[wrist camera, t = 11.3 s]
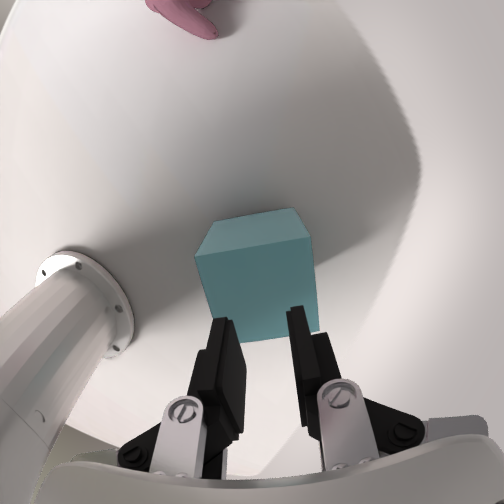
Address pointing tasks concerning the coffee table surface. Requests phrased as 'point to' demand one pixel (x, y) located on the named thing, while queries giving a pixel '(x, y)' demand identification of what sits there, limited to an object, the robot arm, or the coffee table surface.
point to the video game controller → (185, 16)
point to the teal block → (259, 273)
